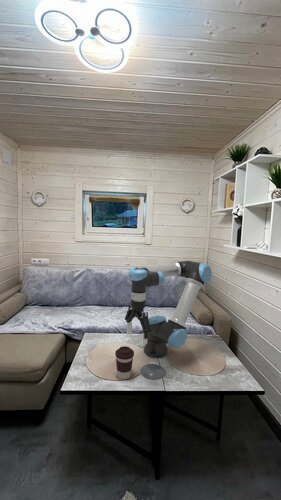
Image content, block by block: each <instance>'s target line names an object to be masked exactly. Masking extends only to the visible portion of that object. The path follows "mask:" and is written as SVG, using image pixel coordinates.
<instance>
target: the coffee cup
mask: <svg viewBox="0 0 281 500" xmlns="http://www.w3.org/2000/svg"><path fill="white" fill-rule="evenodd" d="M114 354H115V365H116V374H117V378H118V379H120V380H127V379H129V378H130V377H131V374H132V369H133V359H134V358H133V357H134V355H135V351H134V350H133V349H132V348H131V347H129V346H127V345H126V346H125V345H123V346H120V347H119V348H118V349H116V350H115V353H114Z"/></svg>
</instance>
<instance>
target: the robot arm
mask: <svg viewBox="0 0 281 500" xmlns="http://www.w3.org/2000/svg"><path fill="white" fill-rule="evenodd" d="M212 276H213V273H212V268H211V266H210V264H206V263H204V262H197V261H192V260H182V261H175V262H172V263H170V264H164V265H155V266H147V267H137V266H136V267H134V266H132V267H131V268H130V270H129V271H128V277H129V279H130V280H131V293H130V294H131V297H130V299H131V300H130V305H128V308H127V312H126V314H125V316H124V321H126V335H127V336H128V335H132V333H133V320H134V318H136V319H137V320H138V321H139V323H140V326H141V329H142V333H141V334H142V335H141V338H142V339H141V346H144V347H143V352H144V354H145V355H146V356H148V357H150V358H155V359H159V358H160V359H161V358H163V357H166V356H167V355H168V347H167V345H168V346H169V347H172V348H175V349H178V348H180V347H182V346H183V345H184V344H185V343H186V342H187V339H188V332H187V325H186V323H187V320H188V319H189V315H190V314H191V311H192V308H193V306H194V304H195V301H196V299H197V297H198V294H199V291H200V290H201V288H203V287H204V286H205V284H208V283H209V282H210V281H211V280H212ZM167 277H169V278H170V277H175V278H177V277H179V278H180V277H182V278H184V279H185V281H186V284H185V286H184V289H183V291H182V293H181V296H180V298H179V301H178V303H177V306H176V308H175V310H174V312H173V315H172V317H171V318H168V320H167V317H166V316H164V315H151V316H150V317H149V313H148V311H145V310H144V309H145V308H146V299H147V288H151V287H159V286H162V285H163V284H164V282H165V278H167Z"/></svg>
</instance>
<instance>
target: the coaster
mask: <svg viewBox="0 0 281 500" xmlns="http://www.w3.org/2000/svg"><path fill="white" fill-rule="evenodd" d="M166 373H167V372H166V369H165V368H164V367H163V366H162V365H160V364H158V363H157V364H156V363H148V364H147V363H146V364H144V365H142V367H141V368H140V375H141V376H142V377H144V379H148V380H153V381H156V380H160V379H163V378H164V377H165V376H166Z"/></svg>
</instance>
